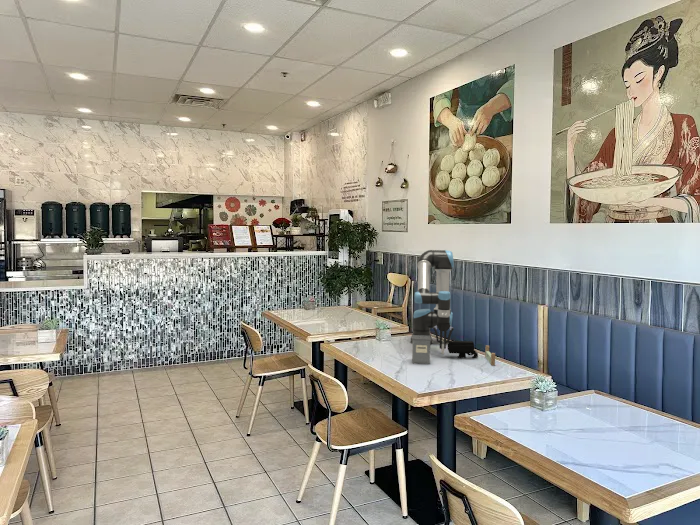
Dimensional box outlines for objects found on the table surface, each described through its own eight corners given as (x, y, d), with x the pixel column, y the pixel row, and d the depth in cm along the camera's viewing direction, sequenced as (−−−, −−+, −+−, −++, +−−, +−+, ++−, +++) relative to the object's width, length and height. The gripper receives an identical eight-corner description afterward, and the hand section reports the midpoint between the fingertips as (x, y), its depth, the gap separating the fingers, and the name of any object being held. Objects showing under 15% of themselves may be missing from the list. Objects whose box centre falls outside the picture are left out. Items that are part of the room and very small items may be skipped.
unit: (411, 358, 320) (411, 335, 319) (429, 359, 319) (429, 335, 318) (412, 363, 309) (412, 339, 308) (430, 364, 308) (431, 339, 307)
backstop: (485, 356, 328) (485, 345, 328) (488, 356, 328) (488, 345, 327) (491, 365, 307) (491, 353, 307) (494, 365, 307) (495, 353, 307)
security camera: (478, 359, 321) (479, 343, 320) (448, 358, 321) (449, 342, 321) (476, 356, 328) (476, 340, 327) (446, 356, 328) (447, 340, 328)
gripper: (433, 316, 321) (432, 354, 322) (454, 317, 320) (453, 355, 321) (432, 314, 328) (431, 351, 330) (453, 315, 327) (452, 352, 329)
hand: (442, 353), depth 325 cm, fingers closed
